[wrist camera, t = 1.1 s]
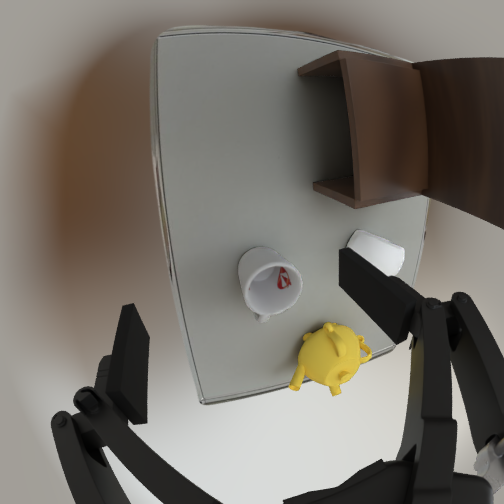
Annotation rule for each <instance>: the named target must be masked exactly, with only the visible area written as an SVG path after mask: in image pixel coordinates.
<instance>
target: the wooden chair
mask: <svg viewBox="0 0 504 504" xmlns="http://www.w3.org/2000/svg"><path fill="white" fill-rule="evenodd" d="M298 74H299V76H335V77H343V82H344V88H345V95H346V102H347V109H348V117H349V126H350V135H351V145H352V157H353V172H354V176H351V177H344V178H338V179H331V180H325V181H319V182H314V183H313V189H314V191H316V192H319V193H321V194H323V195H326V196H328V197H330V198H332V199H334V200H337V201H339V202H341V203H343V204H345V205H347V206H349V207H352V208H354V209H357V208H362V207H367V206H371V205H376V204H381V203H385V202H390V201H395V200H399V199H404V198H409V197H414V196H419V195H424V196H426V197H429V198H432V199H434V200H437V201H440V202H442V203H445V204H447V205H450V206H452V207H455V208H458V209H460V210H462V211H464V212H467V213H469V214H471V215H474V216H476V217H478V218H480V219H483V220H485V221H487V222H489V223H491V224H493V225H495V226H498V227H500V228H502V229H504V58H493V57H486V58H485V57H480V58H457V59H456V58H455V59H443V60H433V61H424V62H417V63H409V62H405V61H401V60H397V59H392V58H387V57H382V56H376V55H370V54H364V53H357V52H350V51H341V50H337V51H334V52H332V53H330V54H327V55H325V56H323V57H321V58H319V59H316V60H314V61H312V62H310V63H308V64H306V65H304V66H302V67H300V68H298Z"/></svg>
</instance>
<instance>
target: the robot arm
mask: <svg viewBox="0 0 504 504" xmlns="http://www.w3.org/2000/svg"><path fill="white" fill-rule="evenodd" d="M339 286H340V287H341V288H342V289H343V290H344V291H345V292H346V293H347V294H348V295H349V296H350V297H351V298H352V299H353V300H354V301H355V302H356V303H357V304H358V305H359V306H360V307H361V308H362V309H363V310H364V311H365V312H366V313H367V315H368V316H369V317H370V318H371V319H372V320H373V321H374V322H375V323H376V324H377V325H378V326H379V327H380V328H381V329H382V330H383V331H384V332H385V333H386V334H387V335H388V337H389V338H390V339H391V340H392V341H393V342H394V343H395V344H396V345H397V344H399V343H401V342H403V341H405V340H406V339H407V337H408V333H409V332H410V333H412V335H413V337H412V340H411V344H410V347H409V349H411V347H412V352H411V372H410V386H409V395H408V404H407V413H406V420H405V426H404V432H403V438H402V443H401V447H400V450H399V452H398V454H397V457H396V460H393V461H387V462H383V460H382V459H380V460H378V461H376V462H375V463H373V464H371V465H369V466H367V467H365V468H363V469H361V470H359V471H358V472H357V473H355V474H354V475H353V476H351V477H350V478H349V479H348V480H346V481H345V482H344V483H342V484H341V485H339V486H338V487H335V488H330V489H323V490H317V491H310V492H307V493H304V494H301V495H298V496H295V497H292V498H288V499H285V500H283V502H284V503H283V504H493V494H494V493H495V492H496V491H498V490H499V489H500V488H501V487H502V486H503V485H504V358H503V355H502V353H501V351H500V349H499V347H498V345H497V343H496V341H495V339H494V337H493V335H492V333H491V332H490V330H489V328H488V326H487V324H486V322H485V321H484V319H483V317H482V315H481V314H480V312H479V310H478V309H477V307H476V305H475V304H474V302H473V300H472V299H471V297H470V296H469V295H468V294H466V293H464V292H456V293H454V294H453V295H452V299H451V301H447V302H441V301H440V300H438V299H436V298H424V297H423V296H422V295H420V294H419V293H418V292H417V291H415V290H414V289H413V288H412V287H410V286H409V285H408V284H405V282H404V281H402V280H401V279H400V278H398V277H395V276H392V275H391V276H387V275H386V274H384V273H383V272H382V271H380V270H379V269H378V268H376V267H375V266H374V265H372V264H371V263H370V262H368V261H367V260H366V259H364V258H363V257H362V256H360V255H359V254H358V253H356V252H355V251H354V250H352V249H351V248H350V247H347V248H343V249H340V250H339ZM149 340H150V337H149V335H148V333H147V331H146V328H145V326H144V324H143V322H142V320H141V318H140V316H139V314H138V312H137V309H136V307H135V305H134V303H132V304H128V305H124V306H122V310H121V314H120V318H119V322H118V327H117V331H116V336H115V341H114V345H113V350H112V355H107V356H104V357H103V358H102V360H101V361H100V363H99V367H98V372H97V376H96V377H97V378H96V381H95V386H94V388H93V387H89V386H87V387H83V388H81V389H79V390H78V391H77V392H76V394H75V396H74V399H73V402H74V405H75V407H76V408H77V409H78V410H79V411H80V413H77V414H74V415H72V416H71V415H70V414H69V413H68V412H66V411H59V412H58V413H56V414H55V415H54V416H53V418H52V420H51V428H52V433H53V437H54V441H55V444H56V448H57V452H58V455H59V459H60V462H61V465H62V468H63V471H64V474H65V477H66V480H67V483H68V485H69V488H70V491H71V493H72V496H73V498H74V500H75V503H76V504H131V503H130V501H129V499H128V498H127V496H126V494H125V493H124V491H123V489H122V487H121V485H120V484H119V482H118V480H117V478H116V476H115V474H114V472H113V470H112V468H111V466H110V464H109V462H108V460H107V458H106V456H105V454H104V451H103V449H102V447H105V446H108V447H109V448H110V450H111V451H112V452H113V453H114V454H115V456H116V457H117V458H118V459H119V460H120V461H121V462H122V463H123V464H124V466H125V467H126V468H127V469H128V470H129V471H130V472H131V473H132V474H133V475H134V476H135V477H136V478H137V479H138V480H139V481H140V482H141V483H142V484H143V485H144V486H145V487H146V488H147V489H148V490H149V491H150V492H151V493H152V494H153V495H154V496H156V497H157V498H158V499H159V500H160V501H161V502H162V503H163V504H223V503H221V502H220V501H218V500H217V499H215V498H214V497H212V496H210V495H209V494H208V493H206V492H205V491H203V490H202V489H201V488H199V487H198V486H196V485H195V484H194V483H192V482H191V481H190V480H188V479H187V478H185V477H184V476H183V475H182V474H180V473H179V472H178V471H177V470H175V469H174V468H173V467H172V466H171V465H169V464H168V463H167V462H166V461H165V460H163V459H162V458H161V457H160V456H159V455H158V454H157V453H155V452H154V451H153V450H152V449H151V448H150V447H149V446H148V445H147V444H146V443H145V442H144V441H142V440H141V439H140V438H139V437H138V436H137V435H136V434H135V433H134V432H133V431H132V430H131V429H130V428H129V427H128V419H129V421H130V422H131V423H132V424H133V425H137V424H146V423H147V386H148V383H147V382H148V357H149ZM451 363H452V365H453V369H454V372H455V375H456V378H457V381H458V384H459V388H460V391H461V394H462V398H463V401H464V405H465V409H466V413H467V417H468V421H469V425H470V430H471V435H472V439H473V443H474V446H475V449H476V452H477V454H478V455H477V458H476V462H475V464H474V469H475V470H476V471H478V472H477V476H476V475H468V474H463V473H457V472H453V471H454V463H455V454H456V442H457V421H456V420H454V419H453V418H452V379H451V378H452V377H451Z"/></svg>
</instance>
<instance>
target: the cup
mask: <svg viewBox="0 0 504 504" xmlns="http://www.w3.org/2000/svg"><path fill="white" fill-rule="evenodd" d="M238 275H239V280H240V284H241V289H242V293H243V297H244V301H245V303H246V305H247V306H248V307H249V309H250V310H252V311H253V312H254V316H255V319H256V320H257V322H259V323H265V322H267V321H268V319H269V317H270V316H271V315H277V314H280V313H282V312H284V311H286V310H287V309H289V308H290V307H291V306H293V304H294V303H295V302H296V301H297V300H298V298H299V296H300V294H301V291H302V286H303V282H302V277H301V274H300V272H299V271H298V269H297V268H296V267H295V266H293V265H292V264H291V263H290V262H288V261H287V260H286V259H285V258H284V257H282V256H281V255H280V254H279V253H277V252H276V251H275V250H273V249H271V248H268V247H255V248H252V249H250V250H249V251H247V252H246V253H245V254H244V255H243V256H242V258H241V260H240V262H239V265H238Z"/></svg>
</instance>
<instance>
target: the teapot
mask: <svg viewBox="0 0 504 504" xmlns="http://www.w3.org/2000/svg"><path fill="white" fill-rule="evenodd" d="M303 340H304V341H305V342H304V344H303V346H302V347H301V350H300V352H299V355H298V366H297V368H296V371H295V373H294V375H293V378H292V380H291V382H290V384H289V388H290V389H291V390H294V391H298V390H299V389H300V387H301V384H302V381H303V379H304V376H305V375H306V376H307V377H308V378H310V379H311V380H313V381H315V382H317V383H320V384H322V385H326V386H329V388H330V391H331V394H332V396H335V395H338V394H340V393H341V390H340V386H339V385H340V384H343V383H345V382H347V381H349V380H350V379H351V378H352V377H353V376H354V374H355V373H356V372H357V370H358V368H359V366H360V363H365V362H367V361H368V360H369V359H370V358H371V356H372V351H371V349H370V348H369V347H368V346H367V345H365V344H364V337H363V336H360V335H358V336H356V335H355V333H354V332H353V330H352V329H350V328H349V327H347V326H343V325H337V323H332V324H331V322H326V323H325V324H324V325H323V328H322V329H319V330H318V331H316V332H314V333H307V334H305V335H304V337H303ZM360 348H361V349H362V350H364V351H365V352H366V353H367V354H368V355H367V356H366V357H362V358H361V357H360Z"/></svg>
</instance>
